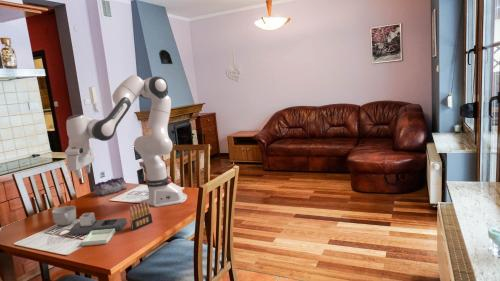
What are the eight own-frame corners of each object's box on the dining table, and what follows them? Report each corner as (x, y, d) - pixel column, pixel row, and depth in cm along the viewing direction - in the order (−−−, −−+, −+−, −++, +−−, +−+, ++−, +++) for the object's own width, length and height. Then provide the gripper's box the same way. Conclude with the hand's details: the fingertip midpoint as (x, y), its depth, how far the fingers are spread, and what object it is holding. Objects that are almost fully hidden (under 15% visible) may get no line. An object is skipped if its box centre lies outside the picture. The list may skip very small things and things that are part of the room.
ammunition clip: (133, 230, 160) (129, 207, 158) (131, 230, 161) (127, 206, 159) (152, 222, 168) (149, 199, 166) (150, 221, 169) (147, 199, 167)
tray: (115, 232, 160) (114, 228, 160) (106, 243, 149) (106, 239, 149) (92, 234, 160) (91, 230, 159) (81, 246, 149) (81, 242, 148)
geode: (121, 186, 232) (121, 172, 230) (129, 191, 225) (128, 177, 222) (91, 193, 218) (90, 179, 216) (98, 199, 211) (97, 185, 208)
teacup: (56, 221, 178) (53, 207, 177) (78, 217, 182) (76, 203, 181) (52, 232, 166) (49, 217, 164) (77, 226, 170) (74, 212, 168)
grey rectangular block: (96, 227, 167) (93, 211, 166) (92, 232, 162) (89, 215, 161) (86, 228, 167) (83, 212, 166) (82, 233, 162) (79, 216, 161)
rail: (126, 223, 169) (126, 217, 169) (121, 230, 161) (120, 224, 161) (78, 227, 168) (77, 222, 168) (71, 235, 161) (70, 229, 160)
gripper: (82, 144, 174) (86, 170, 176) (62, 152, 154) (67, 181, 156) (95, 143, 174) (98, 169, 177) (76, 151, 154) (80, 180, 156)
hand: (83, 175), depth 166 cm, fingers open, 8 cm apart
